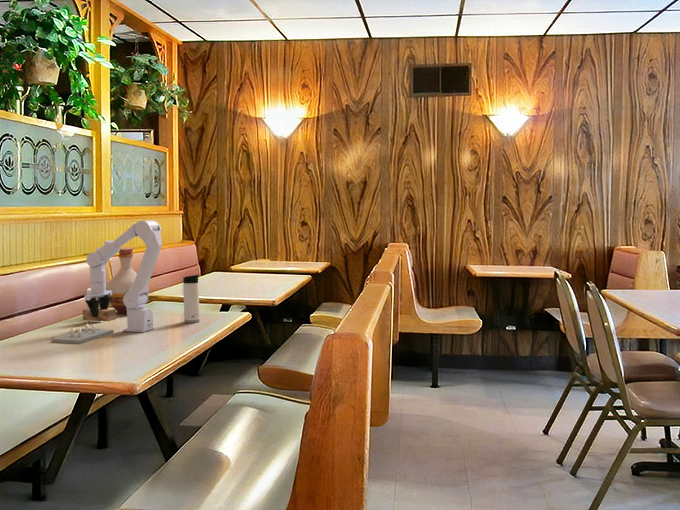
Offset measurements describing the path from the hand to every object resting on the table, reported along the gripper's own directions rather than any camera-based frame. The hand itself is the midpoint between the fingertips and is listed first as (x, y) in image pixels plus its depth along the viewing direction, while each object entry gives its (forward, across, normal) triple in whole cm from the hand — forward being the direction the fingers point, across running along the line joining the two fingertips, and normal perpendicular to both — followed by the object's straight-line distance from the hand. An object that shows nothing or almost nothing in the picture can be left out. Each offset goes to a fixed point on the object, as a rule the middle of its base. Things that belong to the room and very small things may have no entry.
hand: (99, 315), depth 268 cm
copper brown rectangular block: (+2, 0, 0) cm, 2 cm away
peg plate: (+5, +16, +5) cm, 18 cm away
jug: (+6, -38, -14) cm, 41 cm away
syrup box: (+6, -14, -12) cm, 19 cm away
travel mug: (+6, -24, +28) cm, 37 cm away
